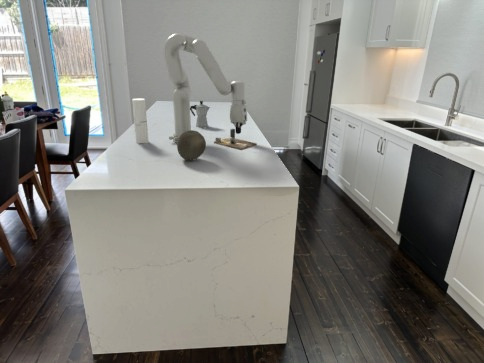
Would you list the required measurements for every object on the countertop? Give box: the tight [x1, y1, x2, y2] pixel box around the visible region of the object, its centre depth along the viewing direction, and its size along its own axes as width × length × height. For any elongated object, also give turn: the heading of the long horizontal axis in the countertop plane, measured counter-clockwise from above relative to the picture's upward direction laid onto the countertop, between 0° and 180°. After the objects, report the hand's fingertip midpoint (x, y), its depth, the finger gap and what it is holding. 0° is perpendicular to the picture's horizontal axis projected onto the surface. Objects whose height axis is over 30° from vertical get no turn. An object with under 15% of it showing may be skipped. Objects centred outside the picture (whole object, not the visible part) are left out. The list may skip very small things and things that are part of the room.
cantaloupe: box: [176, 129, 207, 162], centre depth 170 cm, size 14×14×15 cm
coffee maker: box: [190, 100, 211, 129], centre depth 242 cm, size 15×9×18 cm, turn 84°
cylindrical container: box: [131, 97, 149, 144], centre depth 198 cm, size 7×7×25 cm
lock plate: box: [213, 136, 258, 151], centre depth 202 cm, size 15×21×3 cm
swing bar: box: [229, 128, 236, 143], centre depth 204 cm, size 12×3×6 cm, turn 1°
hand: (238, 133), depth 207 cm, fingers closed
